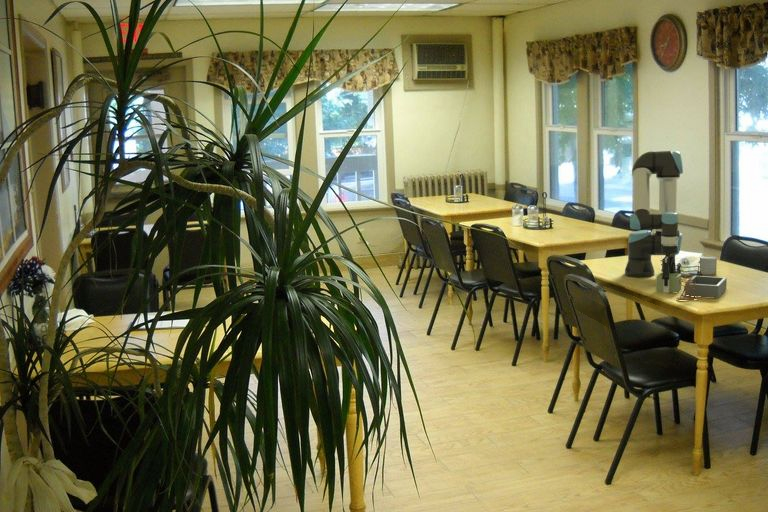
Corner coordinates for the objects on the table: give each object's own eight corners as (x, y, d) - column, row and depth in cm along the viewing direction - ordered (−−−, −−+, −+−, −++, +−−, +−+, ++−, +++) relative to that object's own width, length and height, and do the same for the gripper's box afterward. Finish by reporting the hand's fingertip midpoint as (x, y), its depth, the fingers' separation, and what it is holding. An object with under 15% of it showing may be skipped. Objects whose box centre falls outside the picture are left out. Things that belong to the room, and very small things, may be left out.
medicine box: (714, 272, 469) (714, 256, 467) (716, 274, 465) (716, 258, 463) (698, 273, 470) (699, 257, 468) (700, 275, 465) (701, 258, 464)
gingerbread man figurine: (694, 298, 415) (695, 273, 413) (698, 300, 412) (698, 274, 410) (676, 299, 415) (676, 274, 413) (679, 301, 411) (680, 276, 409)
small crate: (656, 291, 432) (656, 275, 431) (660, 288, 439) (660, 272, 438) (677, 293, 427) (677, 277, 426) (681, 290, 434) (681, 274, 432)
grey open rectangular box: (684, 296, 421) (685, 283, 420) (694, 287, 437) (694, 275, 436) (718, 298, 413) (718, 285, 412) (726, 289, 430) (726, 277, 429)
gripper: (672, 248, 418) (671, 295, 422) (682, 241, 436) (681, 286, 440) (655, 248, 422) (655, 294, 426) (667, 240, 440) (666, 285, 444)
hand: (668, 290), depth 433 cm, fingers open, 9 cm apart
